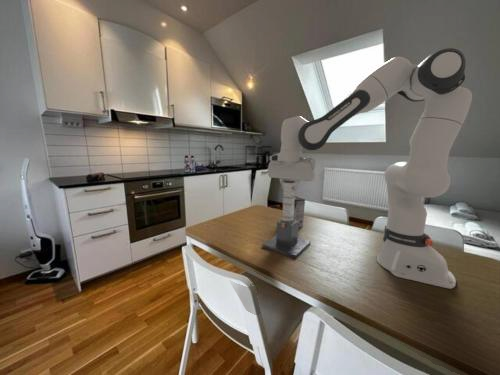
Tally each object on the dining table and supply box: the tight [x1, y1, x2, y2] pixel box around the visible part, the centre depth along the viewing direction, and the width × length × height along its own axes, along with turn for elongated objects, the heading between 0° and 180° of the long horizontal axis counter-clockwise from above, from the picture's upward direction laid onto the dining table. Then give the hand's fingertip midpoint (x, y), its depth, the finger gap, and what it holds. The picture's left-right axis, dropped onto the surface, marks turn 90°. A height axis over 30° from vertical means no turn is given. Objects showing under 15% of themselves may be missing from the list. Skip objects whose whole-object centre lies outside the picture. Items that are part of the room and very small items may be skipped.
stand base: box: [261, 219, 311, 260], centre depth 92 cm, size 16×16×12 cm
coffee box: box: [293, 195, 306, 228], centre depth 118 cm, size 9×6×16 cm
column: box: [281, 179, 296, 224], centre depth 89 cm, size 4×4×23 cm
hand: (289, 189), depth 88 cm, fingers closed on column, 4 cm apart
